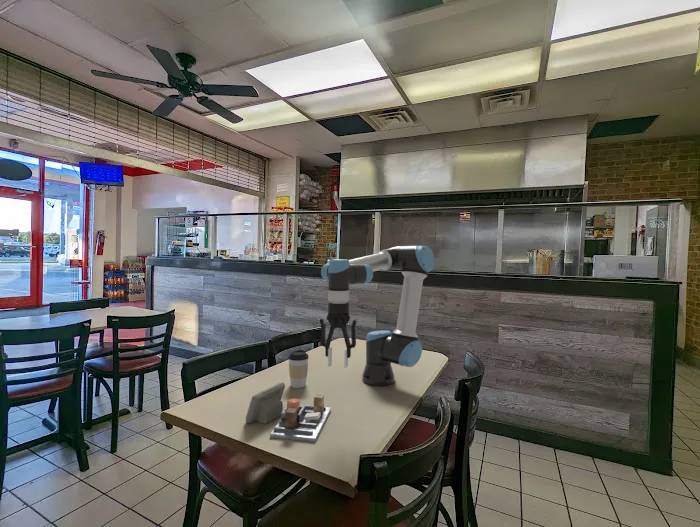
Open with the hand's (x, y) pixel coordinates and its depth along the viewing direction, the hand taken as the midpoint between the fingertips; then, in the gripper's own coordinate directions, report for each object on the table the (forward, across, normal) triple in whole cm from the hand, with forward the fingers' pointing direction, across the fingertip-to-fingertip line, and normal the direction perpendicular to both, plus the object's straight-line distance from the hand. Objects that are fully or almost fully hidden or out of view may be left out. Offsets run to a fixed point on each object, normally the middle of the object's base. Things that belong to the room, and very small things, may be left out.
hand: (337, 365), depth 123 cm
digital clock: (+19, +26, +4) cm, 32 cm away
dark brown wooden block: (+17, +13, +13) cm, 25 cm away
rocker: (+16, +8, +6) cm, 19 cm away
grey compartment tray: (+19, +11, +6) cm, 23 cm away
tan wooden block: (+17, +7, 0) cm, 19 cm away
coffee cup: (+19, +24, -26) cm, 40 cm away
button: (+14, +15, +6) cm, 21 cm away
